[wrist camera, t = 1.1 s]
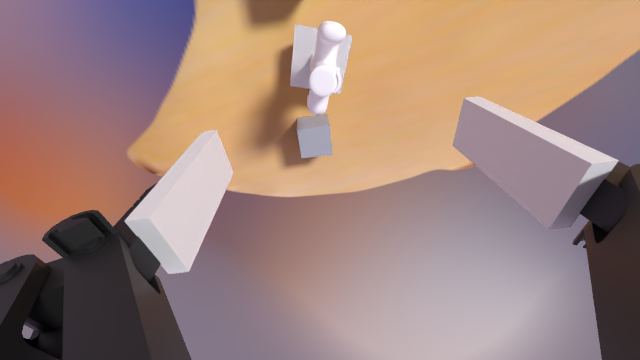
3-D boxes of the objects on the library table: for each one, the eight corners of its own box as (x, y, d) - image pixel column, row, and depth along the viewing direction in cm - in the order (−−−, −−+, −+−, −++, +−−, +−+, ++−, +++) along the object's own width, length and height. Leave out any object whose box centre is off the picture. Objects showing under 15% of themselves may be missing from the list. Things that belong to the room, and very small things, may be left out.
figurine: (290, 87, 36) (282, 125, 24) (297, 13, 31) (292, 13, 19) (335, 94, 37) (351, 134, 25) (350, 24, 32) (378, 31, 20)
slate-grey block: (297, 117, 39) (296, 129, 35) (327, 113, 39) (329, 125, 35) (302, 144, 42) (301, 158, 38) (329, 140, 42) (332, 154, 38)
